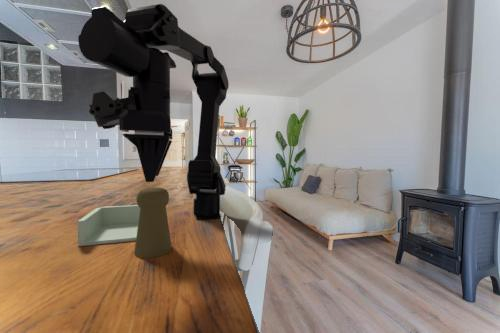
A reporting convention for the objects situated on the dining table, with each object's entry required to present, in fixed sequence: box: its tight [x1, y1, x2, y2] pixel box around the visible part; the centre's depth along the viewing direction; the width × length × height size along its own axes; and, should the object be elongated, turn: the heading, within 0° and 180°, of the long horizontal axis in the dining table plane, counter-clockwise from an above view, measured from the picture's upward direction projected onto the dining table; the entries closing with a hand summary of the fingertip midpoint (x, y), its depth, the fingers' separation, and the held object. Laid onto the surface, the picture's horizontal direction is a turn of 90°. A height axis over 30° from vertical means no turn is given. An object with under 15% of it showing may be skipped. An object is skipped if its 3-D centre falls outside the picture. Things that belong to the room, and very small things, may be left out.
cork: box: [133, 187, 173, 259], centre depth 38 cm, size 6×6×11 cm
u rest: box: [77, 204, 140, 247], centre depth 46 cm, size 11×11×5 cm
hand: (152, 178), depth 38 cm, fingers open, 9 cm apart
